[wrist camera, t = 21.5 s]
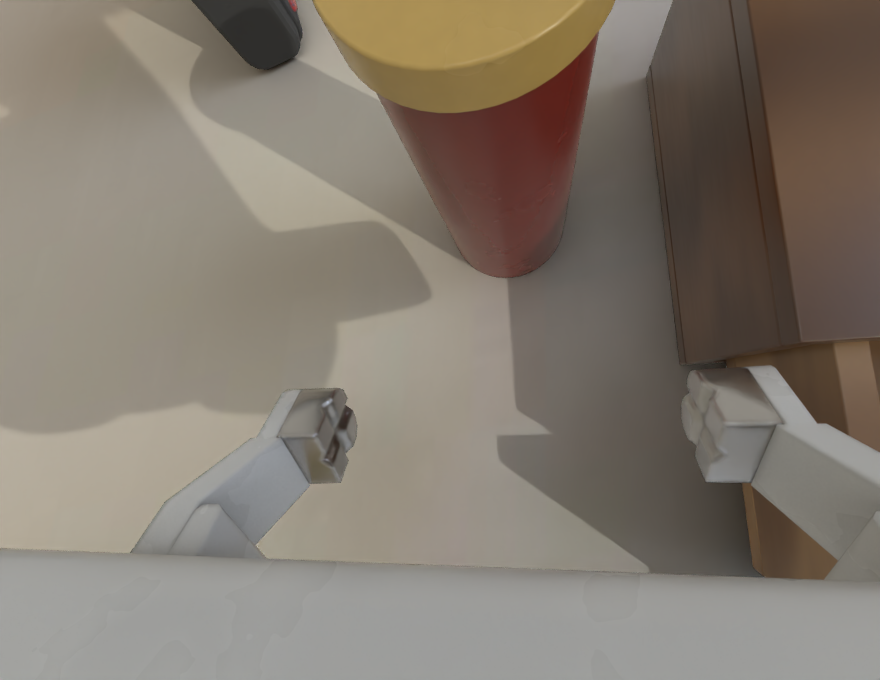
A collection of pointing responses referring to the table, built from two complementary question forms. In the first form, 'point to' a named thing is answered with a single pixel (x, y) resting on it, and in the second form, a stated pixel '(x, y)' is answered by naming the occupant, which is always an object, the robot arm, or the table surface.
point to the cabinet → (769, 173)
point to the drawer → (829, 402)
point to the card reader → (257, 28)
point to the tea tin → (482, 109)
